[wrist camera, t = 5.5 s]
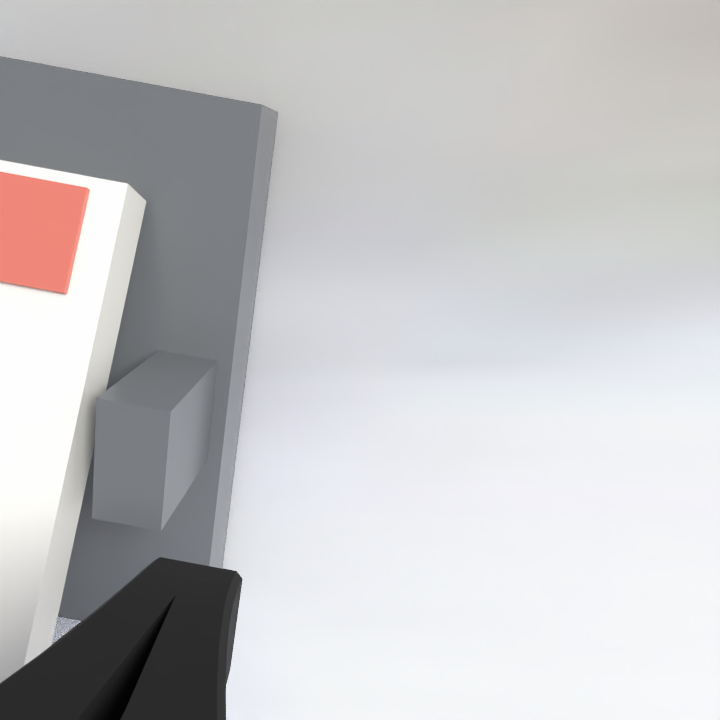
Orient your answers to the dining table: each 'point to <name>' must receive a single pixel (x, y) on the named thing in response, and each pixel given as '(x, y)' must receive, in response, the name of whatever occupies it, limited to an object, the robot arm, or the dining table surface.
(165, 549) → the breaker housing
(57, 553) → the block
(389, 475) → the dining table surface
